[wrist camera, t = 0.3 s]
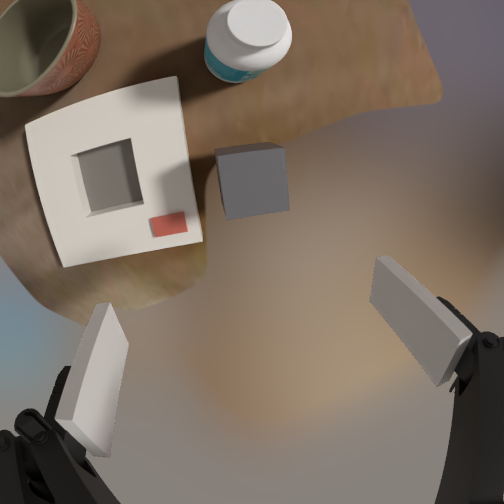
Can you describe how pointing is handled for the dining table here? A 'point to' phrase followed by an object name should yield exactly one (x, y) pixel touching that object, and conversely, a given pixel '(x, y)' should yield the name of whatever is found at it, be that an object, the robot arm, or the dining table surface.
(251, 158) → the plug
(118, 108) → the socket plate
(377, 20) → the dining table surface
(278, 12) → the pill bottle
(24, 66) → the planter
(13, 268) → the dining table surface
